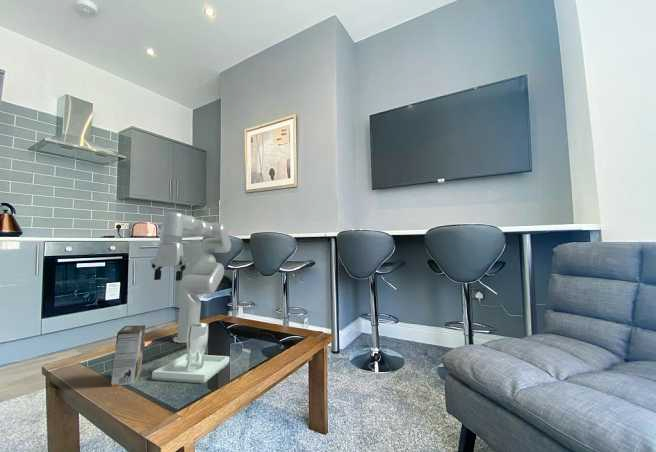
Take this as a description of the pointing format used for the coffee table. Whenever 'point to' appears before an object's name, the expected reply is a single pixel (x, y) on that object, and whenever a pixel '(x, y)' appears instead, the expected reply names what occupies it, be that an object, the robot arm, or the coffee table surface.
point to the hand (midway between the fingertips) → (167, 280)
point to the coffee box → (128, 355)
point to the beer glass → (196, 346)
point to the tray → (179, 374)
